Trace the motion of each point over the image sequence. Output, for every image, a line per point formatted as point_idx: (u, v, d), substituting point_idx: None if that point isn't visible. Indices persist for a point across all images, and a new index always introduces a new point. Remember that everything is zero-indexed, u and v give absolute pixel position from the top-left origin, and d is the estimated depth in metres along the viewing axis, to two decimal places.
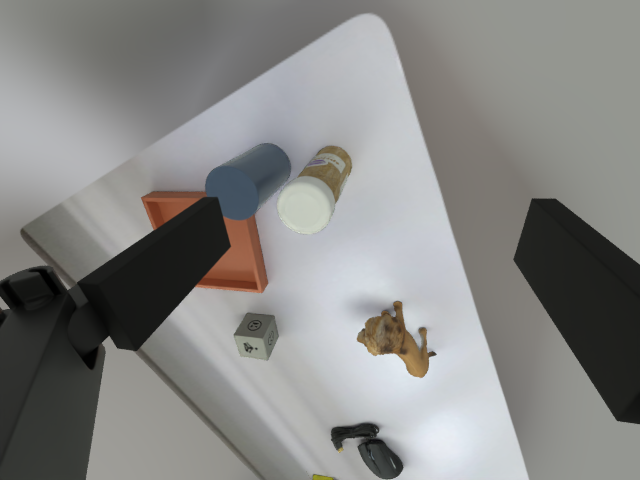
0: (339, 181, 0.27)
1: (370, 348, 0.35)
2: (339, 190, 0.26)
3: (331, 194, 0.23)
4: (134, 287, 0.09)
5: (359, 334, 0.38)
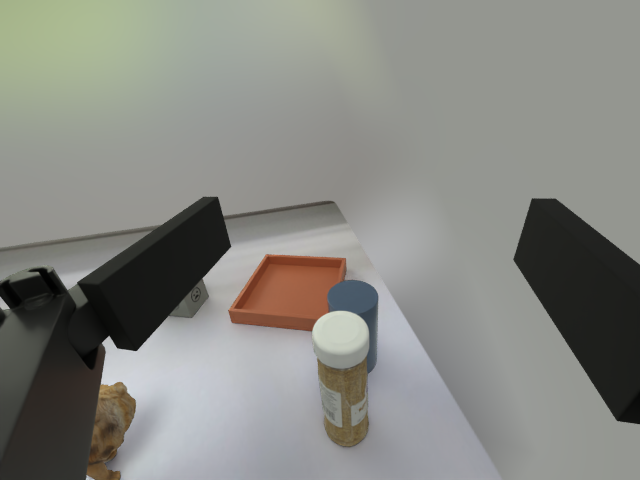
0: (346, 396, 0.24)
1: (104, 388, 0.25)
2: (338, 391, 0.23)
3: (348, 364, 0.21)
4: (134, 287, 0.09)
5: (125, 387, 0.28)
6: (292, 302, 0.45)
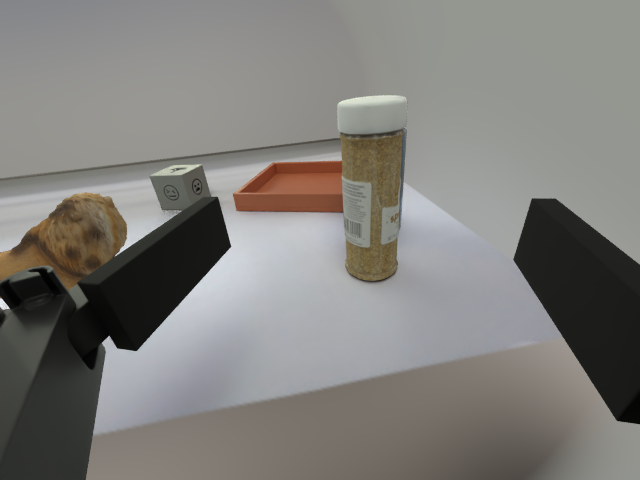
0: (377, 190, 0.20)
1: (88, 193, 0.21)
2: (368, 180, 0.19)
3: (384, 124, 0.18)
4: (134, 287, 0.09)
5: None
6: None
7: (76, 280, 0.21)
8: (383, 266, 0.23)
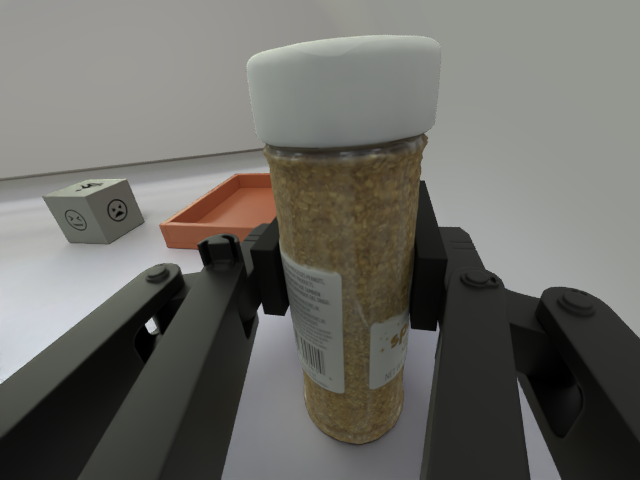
0: (358, 289, 0.08)
1: None
2: (334, 266, 0.07)
3: (372, 116, 0.05)
4: None
5: None
6: (266, 221, 0.29)
7: None
8: (375, 420, 0.11)
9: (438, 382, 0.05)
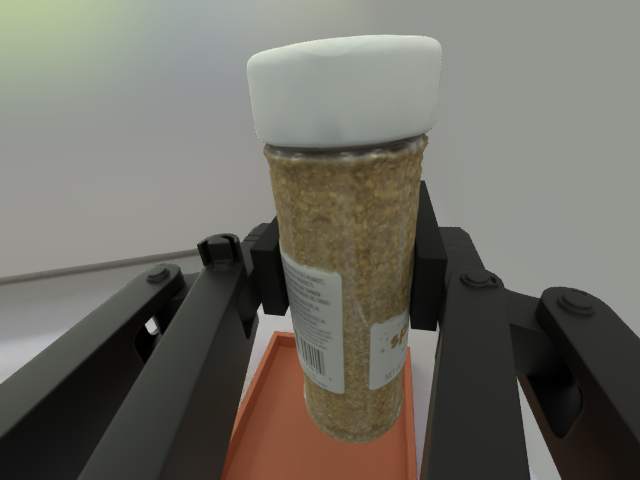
0: (358, 289, 0.08)
1: None
2: (334, 266, 0.07)
3: (373, 116, 0.05)
4: None
5: None
6: (326, 452, 0.24)
7: None
8: (375, 420, 0.11)
9: (438, 382, 0.05)
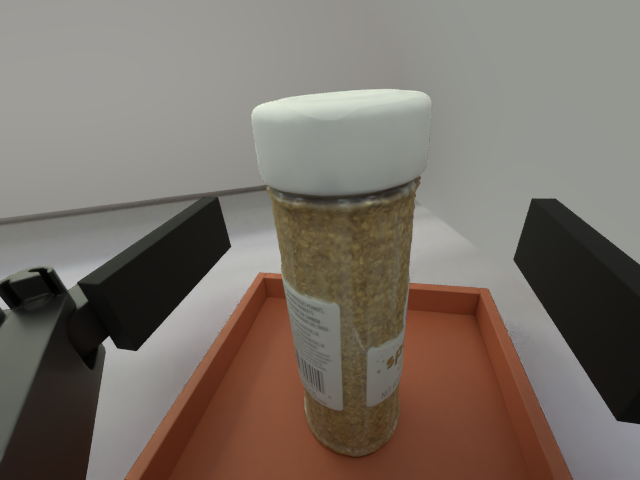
0: (355, 317, 0.08)
1: None
2: (332, 297, 0.08)
3: (367, 170, 0.06)
4: (134, 287, 0.09)
5: None
6: (357, 479, 0.11)
7: None
8: (372, 435, 0.11)
9: None
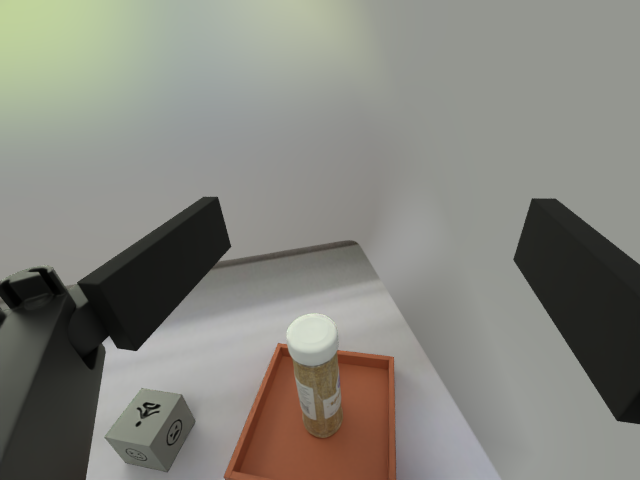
0: (318, 391, 0.26)
1: None
2: (310, 386, 0.26)
3: (317, 361, 0.24)
4: (134, 287, 0.09)
5: None
6: (323, 446, 0.29)
7: None
8: (328, 429, 0.29)
9: None
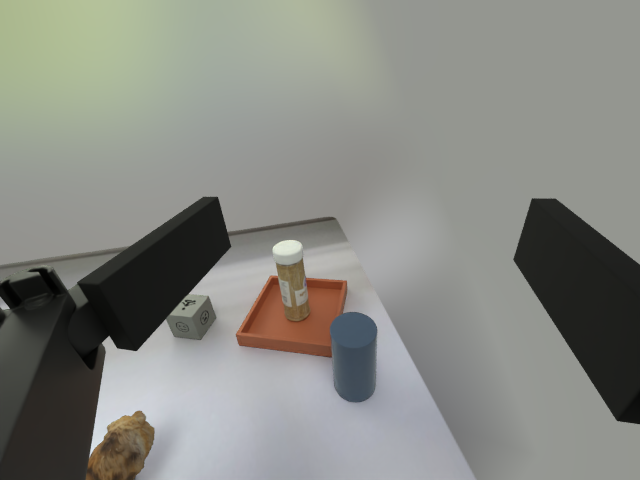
0: (291, 284, 0.44)
1: (126, 419, 0.28)
2: (286, 280, 0.44)
3: (289, 261, 0.42)
4: (134, 287, 0.09)
5: (144, 416, 0.30)
6: (296, 325, 0.47)
7: None
8: (299, 315, 0.48)
9: None
